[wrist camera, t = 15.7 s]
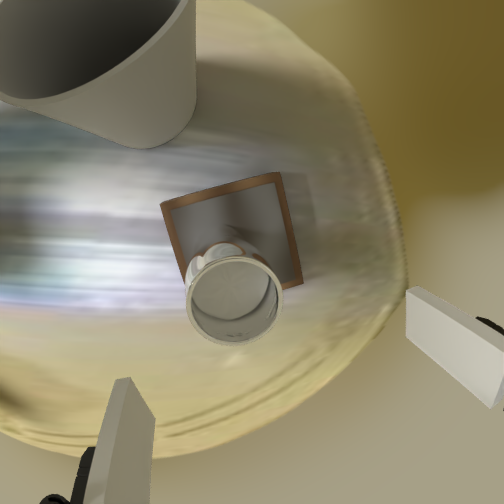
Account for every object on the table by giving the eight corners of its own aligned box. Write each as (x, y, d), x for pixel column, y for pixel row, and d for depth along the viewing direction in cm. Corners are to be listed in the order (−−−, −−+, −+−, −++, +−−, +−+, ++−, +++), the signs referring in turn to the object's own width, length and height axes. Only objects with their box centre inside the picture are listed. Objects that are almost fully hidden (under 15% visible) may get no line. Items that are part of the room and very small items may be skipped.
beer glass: (178, 261, 33) (164, 321, 19) (210, 208, 33) (217, 232, 18) (229, 290, 35) (250, 362, 21) (262, 240, 34) (305, 285, 20)
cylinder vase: (83, 116, 31) (-45, 58, 7) (145, 43, 30) (98, -87, 6) (152, 169, 34) (63, 155, 10) (217, 92, 33) (250, -32, 9)
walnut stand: (195, 303, 39) (195, 316, 35) (163, 201, 35) (159, 204, 32) (295, 274, 41) (304, 284, 37) (272, 172, 37) (280, 171, 33)
